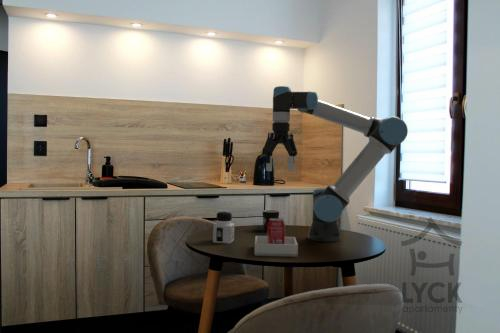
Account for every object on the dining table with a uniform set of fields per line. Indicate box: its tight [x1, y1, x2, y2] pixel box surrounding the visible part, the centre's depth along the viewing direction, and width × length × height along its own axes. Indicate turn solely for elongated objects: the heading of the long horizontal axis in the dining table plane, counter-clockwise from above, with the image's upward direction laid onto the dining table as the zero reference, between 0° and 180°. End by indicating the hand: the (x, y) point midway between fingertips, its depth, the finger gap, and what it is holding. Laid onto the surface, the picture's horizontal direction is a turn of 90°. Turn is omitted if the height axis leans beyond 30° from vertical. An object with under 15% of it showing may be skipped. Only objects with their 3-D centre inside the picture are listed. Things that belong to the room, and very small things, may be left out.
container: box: [212, 211, 235, 244], centre depth 201 cm, size 8×8×13 cm
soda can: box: [266, 217, 286, 244], centre depth 183 cm, size 7×7×12 cm
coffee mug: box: [261, 209, 280, 233], centre depth 233 cm, size 12×9×10 cm
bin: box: [254, 235, 299, 258], centre depth 184 cm, size 17×17×4 cm
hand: (279, 170), depth 201 cm, fingers open, 13 cm apart
